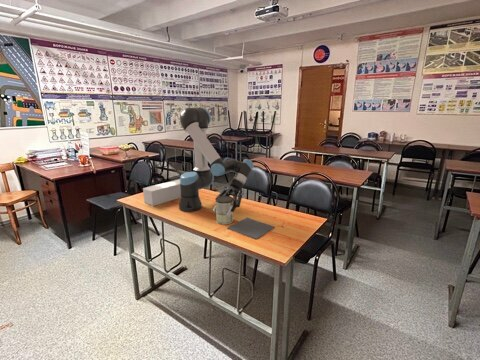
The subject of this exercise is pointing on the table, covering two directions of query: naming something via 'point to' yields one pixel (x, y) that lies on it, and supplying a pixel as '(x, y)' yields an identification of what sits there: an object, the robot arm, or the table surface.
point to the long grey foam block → (162, 193)
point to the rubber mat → (251, 228)
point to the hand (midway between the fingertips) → (220, 213)
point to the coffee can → (223, 209)
